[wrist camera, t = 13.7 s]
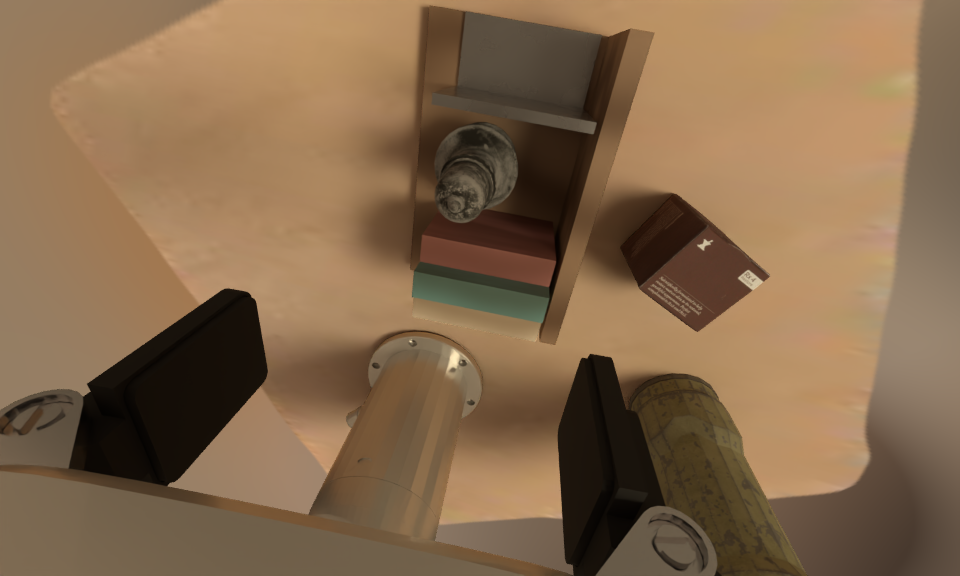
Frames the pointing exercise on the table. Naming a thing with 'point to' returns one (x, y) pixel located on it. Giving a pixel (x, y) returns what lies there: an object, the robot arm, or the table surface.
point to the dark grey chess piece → (474, 171)
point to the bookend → (524, 72)
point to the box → (689, 264)
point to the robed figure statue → (711, 476)
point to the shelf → (516, 198)
